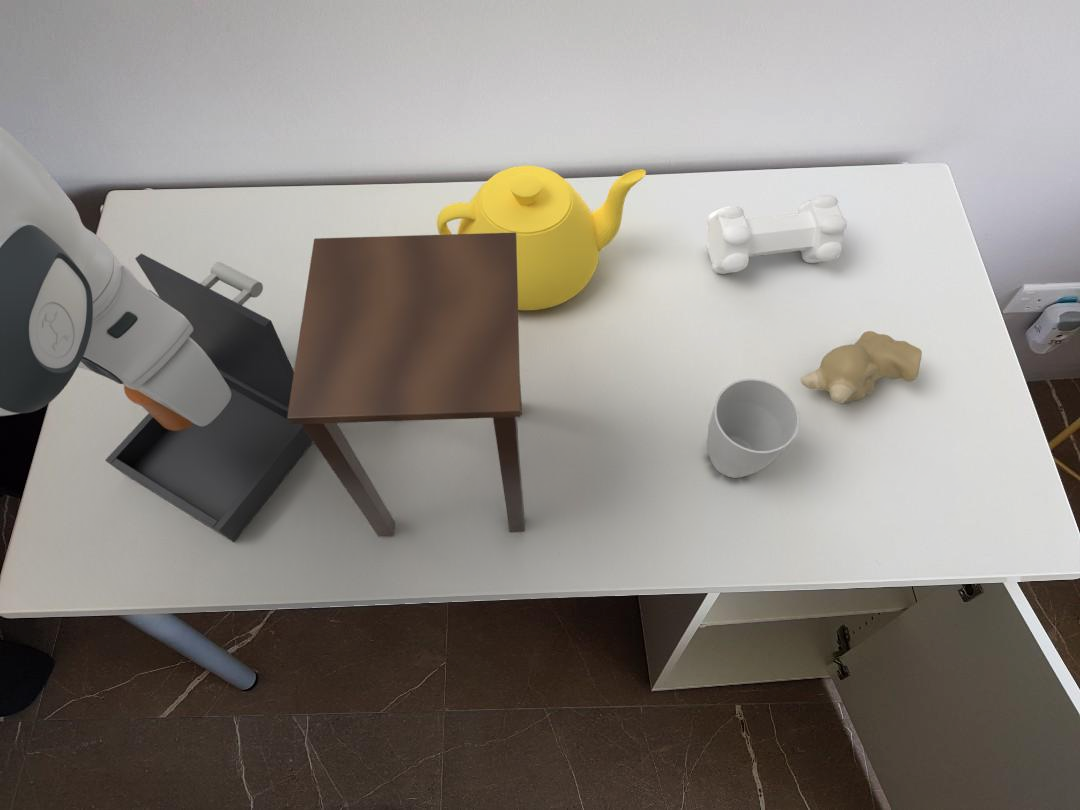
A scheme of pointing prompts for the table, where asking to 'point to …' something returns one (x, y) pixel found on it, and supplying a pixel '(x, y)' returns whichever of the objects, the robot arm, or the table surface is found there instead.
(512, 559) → the table surface
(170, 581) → the table surface
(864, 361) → the tan lumpy rounded piece
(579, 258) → the teapot
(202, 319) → the lid
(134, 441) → the hinged lid box
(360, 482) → the shelf legs
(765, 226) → the bone shaped toy
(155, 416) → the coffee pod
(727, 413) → the cup
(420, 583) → the table surface
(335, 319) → the shelf top
